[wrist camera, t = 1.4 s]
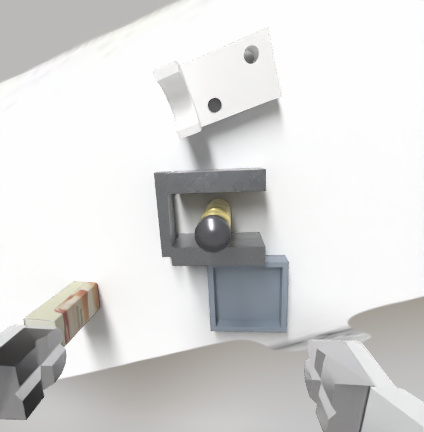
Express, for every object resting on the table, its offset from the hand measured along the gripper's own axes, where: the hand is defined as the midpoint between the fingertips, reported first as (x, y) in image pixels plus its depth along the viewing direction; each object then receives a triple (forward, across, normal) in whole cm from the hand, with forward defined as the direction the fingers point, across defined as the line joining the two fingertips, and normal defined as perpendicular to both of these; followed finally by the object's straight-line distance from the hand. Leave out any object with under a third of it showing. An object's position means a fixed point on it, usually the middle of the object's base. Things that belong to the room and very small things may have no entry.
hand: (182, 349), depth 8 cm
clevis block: (+28, 0, +1) cm, 28 cm away
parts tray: (+28, -6, +14) cm, 31 cm away
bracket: (+28, -1, -15) cm, 32 cm away
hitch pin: (+28, -1, +1) cm, 28 cm away
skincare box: (+29, +21, +16) cm, 39 cm away
